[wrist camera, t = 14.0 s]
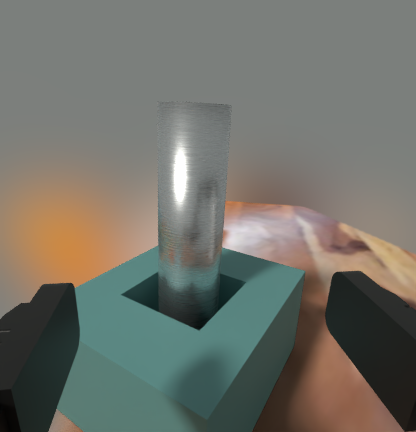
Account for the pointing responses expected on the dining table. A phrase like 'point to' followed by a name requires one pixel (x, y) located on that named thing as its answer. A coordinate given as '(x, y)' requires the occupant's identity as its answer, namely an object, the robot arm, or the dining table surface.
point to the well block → (180, 350)
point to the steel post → (191, 207)
